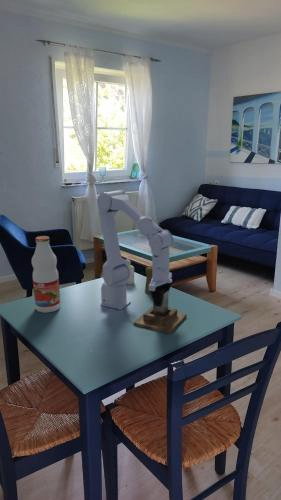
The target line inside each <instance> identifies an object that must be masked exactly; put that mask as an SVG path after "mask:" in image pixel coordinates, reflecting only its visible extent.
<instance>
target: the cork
mask: <svg viewBox="0 0 281 500" xmlns="http://www.w3.org/2000/svg"><path fill="white" fill-rule="evenodd" d="M145 274H146V279H145V288H144V293H145V294H147V295H151V293H150V291H149V289H148V287H149V284H150V283H151V280H152V265H149V266H147V267H145Z"/></svg>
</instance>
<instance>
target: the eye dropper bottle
mask: <svg viewBox="0 0 281 500" xmlns="http://www.w3.org/2000/svg"><path fill="white" fill-rule="evenodd" d="M125 260H126V261H127V265H128V267H129V269H130V277H129V278H128V279H127V281H128V282H126V285H132V284H133V285H134V284H135V266H133V265H131V259H130V258H129V257H128V256H127V257H126V259H125Z"/></svg>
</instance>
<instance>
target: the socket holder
mask: <svg viewBox="0 0 281 500" xmlns="http://www.w3.org/2000/svg"><path fill="white" fill-rule="evenodd" d="M186 318H187V314H186V313H181V312H178V309H177V308H172V307H168V312H167V313H166V314H165V315H164V316H163V315H158V314H154V313H153V306H151V307H149V309H147V310H146V311H145V312H144V313H143V314H141V315H140V317H138V318H137V319H136V320H135V321H133V326H137V327H142V328H144V329H145V328H146V329H150V330H154V331H157V332H160V333H161V332H162V333H166V334H168V335H169V334H170V335H171V334H172V333H173V332H174V331H175V330H176V329H177V328H178V327H179V326H180V324H181V323H182V322H183V321H184V320H185V319H186Z"/></svg>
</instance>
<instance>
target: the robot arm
mask: <svg viewBox="0 0 281 500" xmlns="http://www.w3.org/2000/svg"><path fill="white" fill-rule="evenodd" d="M96 203H97V209H98V219H99V221H100V228H101V234H102V239H103V244H104V250H105V255H106V261H105V262H104V263H103V265H102V279H103V283H102V285H101V289H100V293H101V294H100V295H101V296H100V297H101V298H100V299H101V303H100V306H103V307H108V308H111V309H116V310H119V311H121V310H123V309H124V308H125V307H127V306H128V305H130V304H131V302H132V301H131V300H128V299H127V284H126V282H128V281H127V279H128V278H129V277H130V269H129V267H128V265H127V261H126V259H125V258H123V257H122V253H121V248H120V242H119V237H118V231H117V226H116V221H115V216H116V215H117V213H118V212H120V211H122V212H123V213H124V214H125V215H126V216H128V218H130V219H131V220H132V221H133V222H135V223H136V229H137V230H138V231H139V232H140V233H141V234H142V235H143V236H144V237H145V238H146V239H147V240H148V245H149V247H150V250H151V252H150V253H151V255H152V257H151V258H152V259H151V261H152V265H151V266H152V280H151V283H150V284H149V287H148V289H149V291H150V293H151V294H150V295H151V297H152V302H153V301H154V304H155V306H159V307H160V306H161V303H162V296H163V293H164V291H165V290H169V291H170V289H171V287H172V285H173V283H174V282H173V279H172V278H173V273H172V272H170V247H171V246H172V245H173V242H174V237H173V234H172V233H171V232H170V230H168V229H163V228H162V227H160V226H159V225H158V224H157V223H156V221H154V220H153V217H151V216H149V215H148V216H146V215H143V214H142V213H141V211H139V209H138V208H137V207H136V206H135V205H134V204H133V203H132V201H131V200H130V195H128V194H127V193H126V192H125V190H122V189H119V190H112V191H108V192H107V191H104V192H101V193H100V194H99V195H98V197H97V199H96Z"/></svg>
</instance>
